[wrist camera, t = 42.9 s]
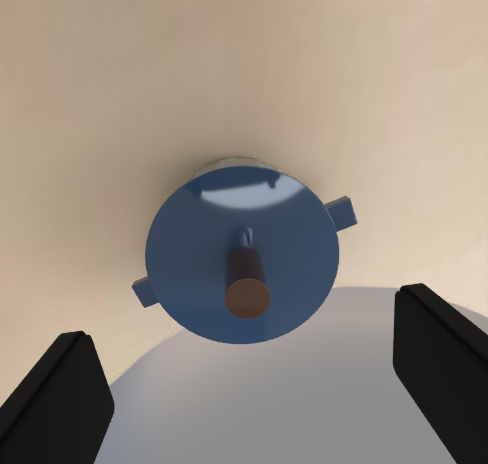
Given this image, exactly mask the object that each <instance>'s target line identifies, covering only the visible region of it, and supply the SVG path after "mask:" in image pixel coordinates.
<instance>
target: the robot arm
mask: <svg viewBox="0 0 488 464" xmlns="http://www.w3.org/2000/svg"><path fill="white" fill-rule="evenodd" d="M393 367H394V370H395V372H396V374H397V376H398V378H399V379H400V381H401V382H402V383H403V385H404V386H405V388H406V389H407V391H408V392H409V394H410V395H411V397H412V398H413V400H414V401H415V403H416V404H417V406H418V407H419V409H420V410H421V412H422V413H423V414H424V416H425V417H426V419H427V420H428V422H429V423H430V425H431V426H432V428H433V429H434V430H435V432H436V434H437V435H438V436H439V438H440V439H441V441H442V442H443V444H444V445H445V447H446V448H447V450H448V451H449V453H450V454H451V456H452V457H453V459H454V460H455V462H456V463H457V464H488V335H487V334H486V333H484V332H483V331H482V330H481V329H480V328H478V327H477V326H476V325H474V324H473V323H472V322H471V321H469V320H468V319H467V318H466V317H465V316H463V315H462V314H461V313H459V312H458V311H457V310H456V309H455V308H453V307H452V306H451V305H450V304H448V303H447V302H446V301H445V300H443V299H442V298H441V297H440V296H438V295H437V294H436V293H435V292H433V291H432V290H431V289H430V288H428V287H427V286H426V285H424V284H423V283H419V284H412V285H405V286H402V287H401V288H400V291H397V292H396V294H395V310H394V340H393ZM113 414H114V401H113V397H112V395H111V392H110V389H109V386H108V383H107V380H106V377H105V374H104V372H103V369H102V366H101V363H100V360H99V357H98V354H97V352H96V349H95V346H94V343H93V340H92V338H91V336H90V335H86V334H85V333H84V332H83V331H76V332H69V333H63V334H60V335H59V336H58V337H57V339H56V340H55V341H54V342H53V344H52V345H51V346H50V347H49V349H48V350H47V351H46V352H45V353H44V355H43V356H42V357H41V358H40V360H39V361H38V362H37V363H36V364H35V366H34V367H33V368H32V369H31V371H30V372H29V373H28V374H27V376H26V377H25V378H24V379H23V380H22V382H21V383H20V384H19V385H18V387H17V388H16V389H15V390H14V391H13V393H12V394H11V395H10V396H9V398H8V399H7V400H6V401H5V403H4V404H3V405H2V406H1V407H0V464H94V462H95V459H96V456H97V454H98V452H99V449H100V447H101V444H102V442H103V439H104V437H105V434H106V432H107V429H108V426H109V424H110V422H111V419H112V417H113Z"/></svg>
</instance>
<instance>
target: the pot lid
mask: <svg viewBox="0 0 488 464" xmlns="http://www.w3.org/2000/svg"><path fill="white" fill-rule="evenodd" d="M145 260H146V270H147V275H148V279H149V282H150V285H151V288H152V290H153V292H154V294H155V296H156V298H157V300H158V301H159V303H160V304H161V306H162V307H163V308H164V309H165V311H166V312H167V313H168V314H169V315H170V316H171V317H172V318H173V319H174V320H175V321H177V322H178V323H179V324H180V325H182V326H183V327H185V328H186V329H188V330H189V331H191V332H193V333H195V334H197V335H199V336H202V337H204V338H207V339H210V340H213V341H217V342H222V343H229V344H251V343H258V342H264V341H268V340H271V339H274V338H277V337H279V336H282V335H284V334H286V333H289V332H290V331H292V330H294V329H295V328H297V327H299V326H300V325H301V324H302V323H304V322H305V321H307V320H308V319H309V318H310V317H311V316H312V315H313V314H314V313H315V312H316V311H317V310H318V308H319V307H320V306H321V305H322V304H323V302H324V301H325V299H326V297H327V296H328V294H329V292H330V290H331V288H332V286H333V284H334V280H335V277H336V274H337V269H338V264H339V243H338V236H337V232H336V229H335V226H334V223H333V221H332V218H331V216H330V214H329V213H328V211H327V209H326V208H325V206H324V205H323V203H322V202H321V201H320V200H319V198H318V197H317V196H316V195H315V194H314V193H313V192H312V191H311V190H310V189H309V188H308V187H306V186H305V185H304V184H302V183H301V182H299V181H298V180H296V179H295V178H293V177H291V176H289V175H287V174H285V173H283V172H280V171H277V170H274V169H271V168H267V167H262V166H257V165H232V166H226V167H221V168H216V169H213V170H210V171H207V172H205V173H202V174H200V175H198V176H196V177H194V178H192V179H191V180H189V181H188V182H186V183H185V184H183V185H182V186H181V187H179V188H178V189H177V190H176V191H175V192H174V193H173V194H172V195H171V196H170V197H169V198H168V199H167V201H166V202H165V203H164V204H163V205H162V207H161V208H160V210H159V212H158V213H157V215H156V217H155V218H154V221H153V223H152V225H151V228H150V230H149V234H148V238H147V242H146V251H145Z"/></svg>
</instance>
